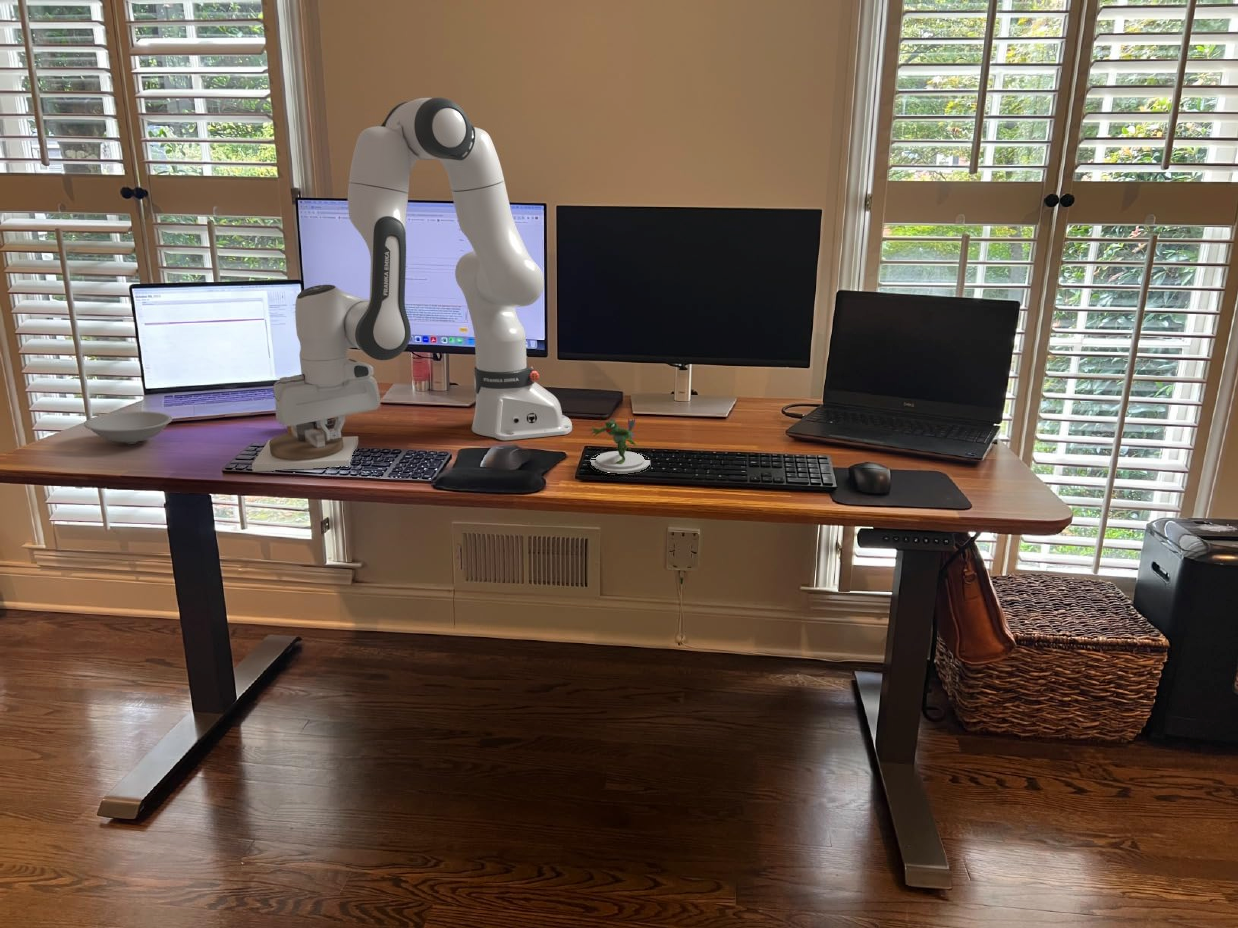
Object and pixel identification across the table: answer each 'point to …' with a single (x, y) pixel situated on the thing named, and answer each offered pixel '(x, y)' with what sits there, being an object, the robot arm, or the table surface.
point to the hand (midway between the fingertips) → (332, 438)
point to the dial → (303, 443)
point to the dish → (128, 425)
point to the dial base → (271, 463)
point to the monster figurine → (619, 451)
